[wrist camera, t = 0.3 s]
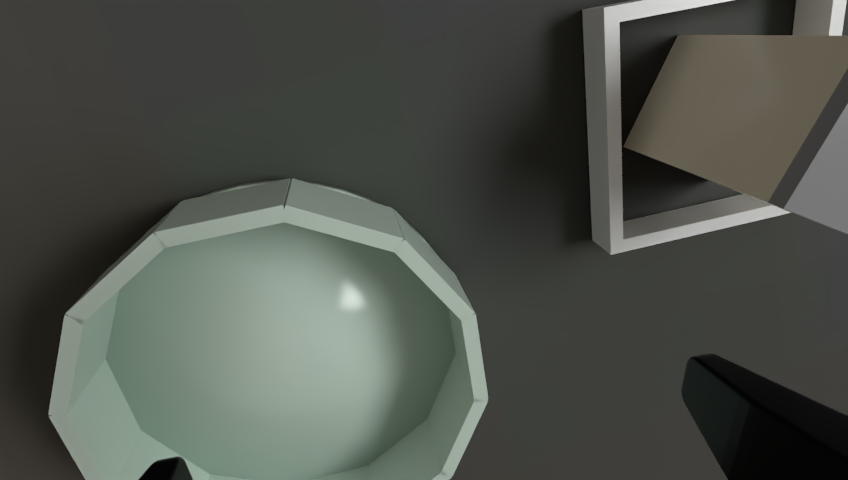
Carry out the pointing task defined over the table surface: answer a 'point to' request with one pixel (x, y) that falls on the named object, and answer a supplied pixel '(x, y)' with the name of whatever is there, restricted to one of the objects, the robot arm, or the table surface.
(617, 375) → the table surface
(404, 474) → the serving bowl
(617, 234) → the square frame
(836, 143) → the cream grey rectangular block
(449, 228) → the table surface
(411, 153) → the table surface
